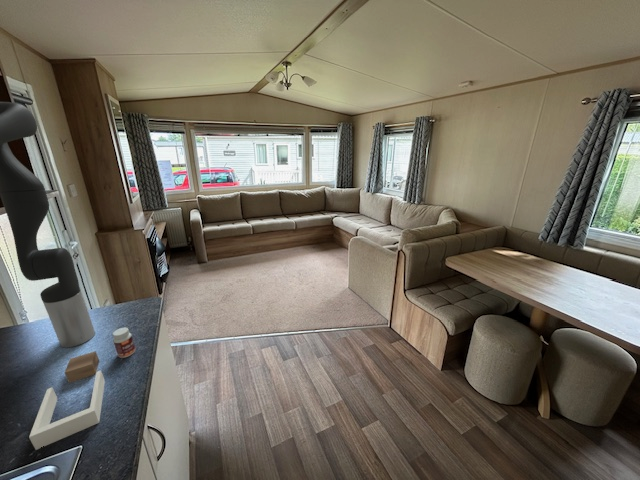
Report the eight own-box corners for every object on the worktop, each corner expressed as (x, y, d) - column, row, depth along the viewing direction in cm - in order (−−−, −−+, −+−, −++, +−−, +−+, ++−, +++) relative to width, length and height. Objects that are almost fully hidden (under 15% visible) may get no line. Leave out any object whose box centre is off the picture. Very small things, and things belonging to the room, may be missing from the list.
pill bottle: (126, 359, 83) (120, 337, 80) (114, 357, 84) (107, 335, 81) (139, 348, 87) (133, 327, 85) (127, 346, 88) (121, 325, 86)
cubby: (52, 400, 70) (47, 389, 68) (104, 381, 75) (100, 370, 74) (35, 449, 58) (29, 437, 57) (99, 422, 64) (94, 410, 62)
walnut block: (74, 369, 80) (70, 358, 78) (99, 361, 83) (95, 351, 81) (69, 383, 75) (64, 372, 74) (95, 374, 78) (91, 364, 76)
